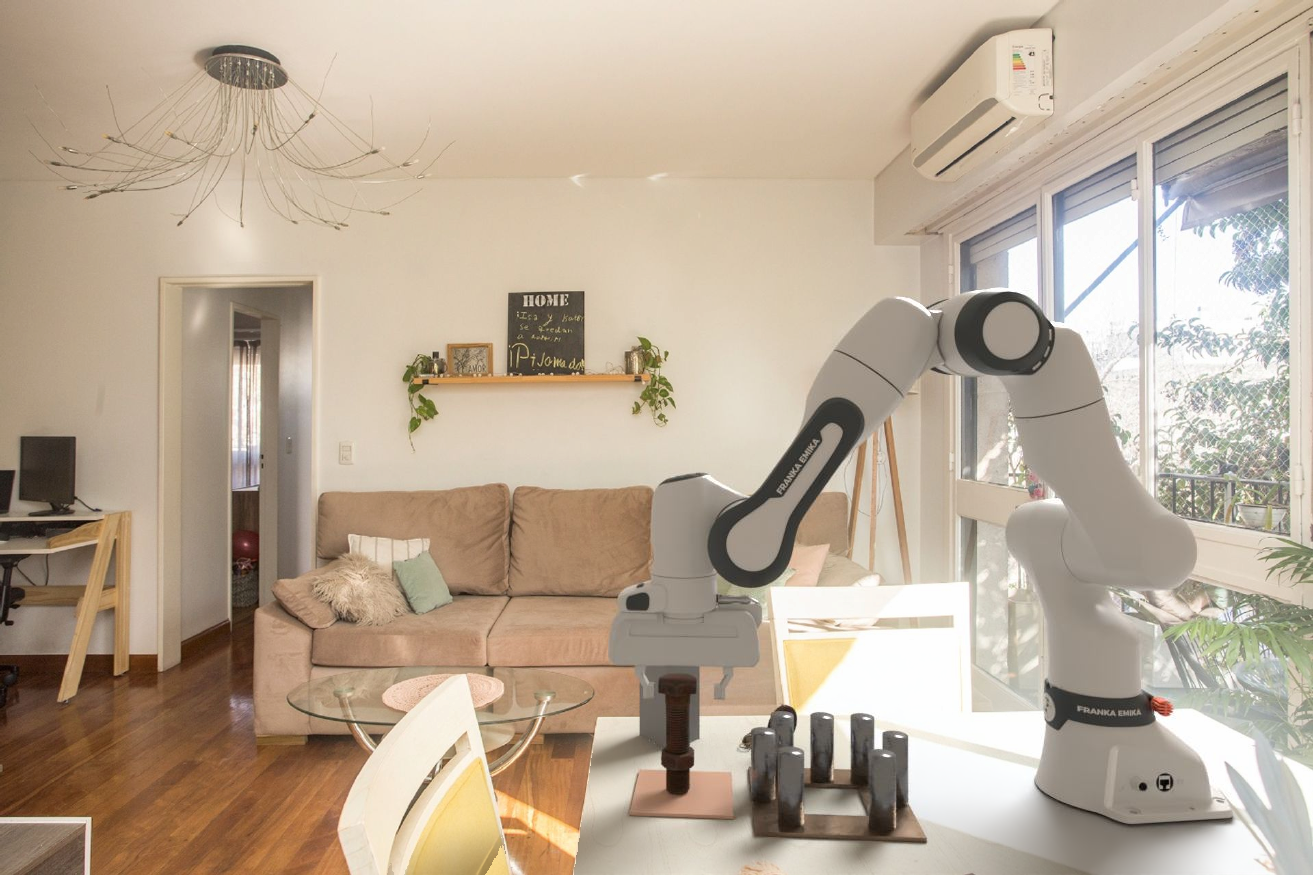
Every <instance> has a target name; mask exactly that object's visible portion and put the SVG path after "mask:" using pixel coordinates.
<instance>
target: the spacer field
mask: <svg viewBox="0 0 1313 875" xmlns="http://www.w3.org/2000/svg"><path fill="white" fill-rule="evenodd" d="M774 711H775V710H774ZM774 711H773V712H771V713H770V717H771V728H767V726H758V727H753V728H751V730H750V732H751V747H750V766H749V765H748V776H749V786H750V800H751V805H752V815H753V826H754V834H755V836H756V837H780V838H801V839H802V838H808V839H833V840H858V841H860V840H861V841H884V842H885V841H886V842H887V841H888V842H908V843H909V842H911V843H912V842H913V843H927V842H928V841H927V840H928V838H927V835H926V833H925V831H924V830H923V828H922V826H921V824H920V822H919V821H918V819H917V817H916V815H915V813H914V811H913V810H912V808H911V806H910V804H909V734H907V733H905V732H903V731H901V730H900V731H899V730H885V731H883V732H882V737H881V738H882V740H881V741H882V746H881V747H882V748H875V717H874V715H872V714H869V713H863V712H857V713H856V712H855V713H852V714H851V715H850V718H849V719H850V768H849V769H846V768H845V769H844V768H843V769H842V768H839V769H838V768H835V716H834V715H833V714H831V713H829V712H825V711H814V712H813V713H810V714H809V715H810V716H809V717H810V718H809V722H810V726H809V727H810V728H809V729H810V730H809V731H810V736H809V737H810V738H809V739H810V741H809V742H810V744H809V746H810V750H809V751H810V756H809V758H810V759H809V760H810V765H809V766H810V767H805V751H804V750H803V749H802V748H800V747H797V746H795V741H794V740H795V739H794V738H795V732H794V715H793V714H792V713H790V712H786V711H775V712H774ZM805 788H830V789H831V788H833V789H857V790H858V793H859V795H860V798H861V800H862V802H863V804H864V807H865V810H866V813H867V814H868V815H853V814H850V815H848V814H846V815H845V814H821V813H819V814H817V813H805Z"/></svg>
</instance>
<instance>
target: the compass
mask: <svg viewBox="0 0 1313 875" xmlns="http://www.w3.org/2000/svg"><path fill="white" fill-rule="evenodd" d="M779 705H780V706H778V707H777V708H776V709H775V710H774V711H773V712H775V711H786V712H790V713H792V714H793V715H794V733H795V731H796V729H797V725H798V716H797V712H796V710H795V708H794V707H792V706H790V705H788V704H783V703H779ZM766 727H767V728H771V716H770V718H769V720H768V723H767V726H766ZM742 741H743V742H741V743H740V744H738V747H739V748H740V749H751V731H749V733H748V732H747V734H745V735H744V736H743V737H742ZM741 745H745V746H746V747H743V746H741Z"/></svg>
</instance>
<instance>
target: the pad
mask: <svg viewBox="0 0 1313 875" xmlns="http://www.w3.org/2000/svg"><path fill="white" fill-rule="evenodd" d="M733 796H734V794H733V777H732V772H730V771H700V770H698V771H697V770H690V789H689V791H688V792H686V793H683V794H671V793H669V792H668V791H667V790H666V769H663V770H662V769H639V771H638V776H637V780H636V783H635V788H634V793H633V798H632V801H631V806H630V809H629V810H630V811H629V816H634V817H635V816H637V817H638V816H641V817H642V816H643V817H666V818H667V817H669V818H696V819H697V818H698V819H719V820H721V819H724V820H734V797H733Z"/></svg>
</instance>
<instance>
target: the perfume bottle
mask: <svg viewBox="0 0 1313 875" xmlns="http://www.w3.org/2000/svg"><path fill="white" fill-rule="evenodd" d="M700 668H701V666H646V671H645V675H646V677H647V679H648V681H649V682H655V689H654V690H655V697H654V698H647V699H645V698H643V686H642V685H641V683H640V682H639V736H640V737H641V738H644V739H645V738H646V739H645V740H647V741H649V740H650V741H649V742H650V743H652V742H653V744H654V743H655V744H654V745H656V746H657V747H660V748H661V747H662V748H661V749H663V748H664V747H665V746H666V703H665V694H661V693H658V682H659V677H661V676H663V675H666V674H671V673H683V674H690V675H692V676H694V677H696V678H697V692H696V694H691V695H690V720H689V721H690V733H689V734H690V743H691V742H694V741H697V740H700V738H701V737H700V729H701V728H700V726H701V725H700V721H701V720H700V718H701V717H700V714H701V713H700V706H701V705H700V700H701V699H700V687H701V686H700V679H701V678H700V677H701V676H700V674H701V673H700V672H701V671H700Z"/></svg>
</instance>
